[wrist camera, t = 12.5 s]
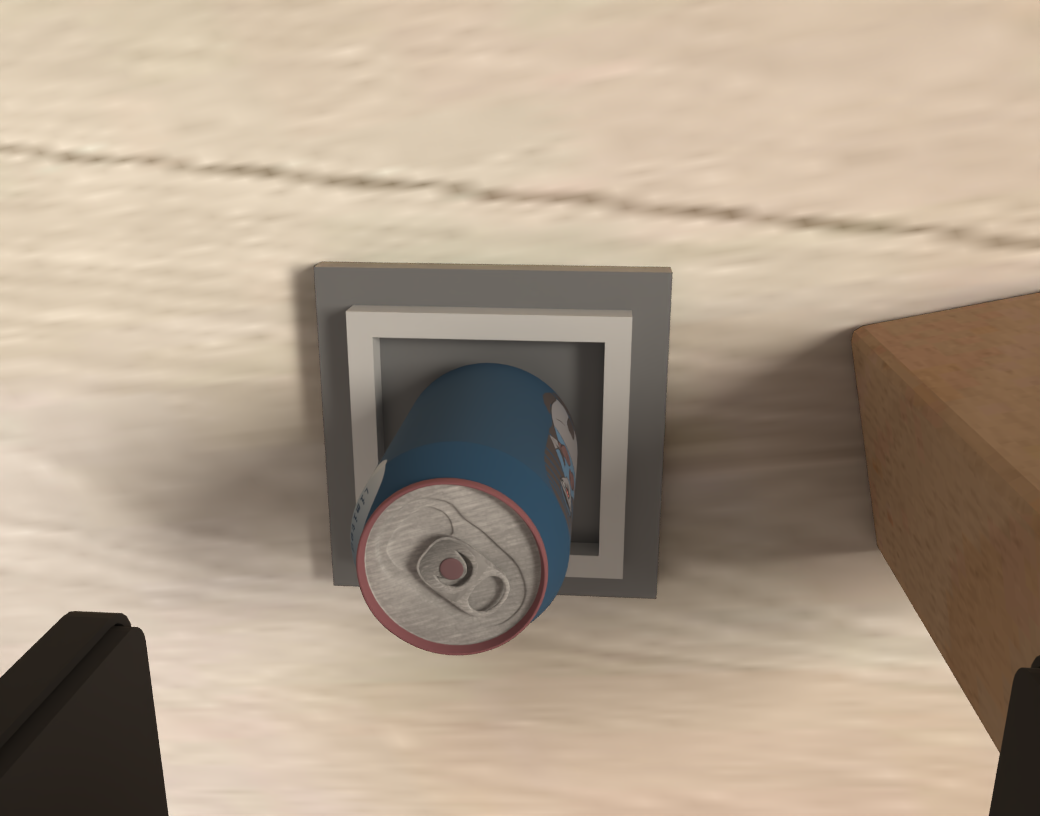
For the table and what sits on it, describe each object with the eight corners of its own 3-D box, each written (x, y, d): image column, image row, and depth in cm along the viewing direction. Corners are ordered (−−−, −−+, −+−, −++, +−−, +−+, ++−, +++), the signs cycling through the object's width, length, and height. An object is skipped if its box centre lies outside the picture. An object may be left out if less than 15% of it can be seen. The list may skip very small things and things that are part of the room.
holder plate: (322, 261, 40) (305, 272, 38) (670, 267, 39) (674, 278, 37) (340, 572, 45) (326, 598, 42) (654, 585, 43) (657, 612, 41)
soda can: (377, 445, 41) (290, 582, 30) (478, 319, 39) (426, 414, 28) (508, 544, 42) (472, 714, 31) (614, 425, 40) (617, 560, 29)
